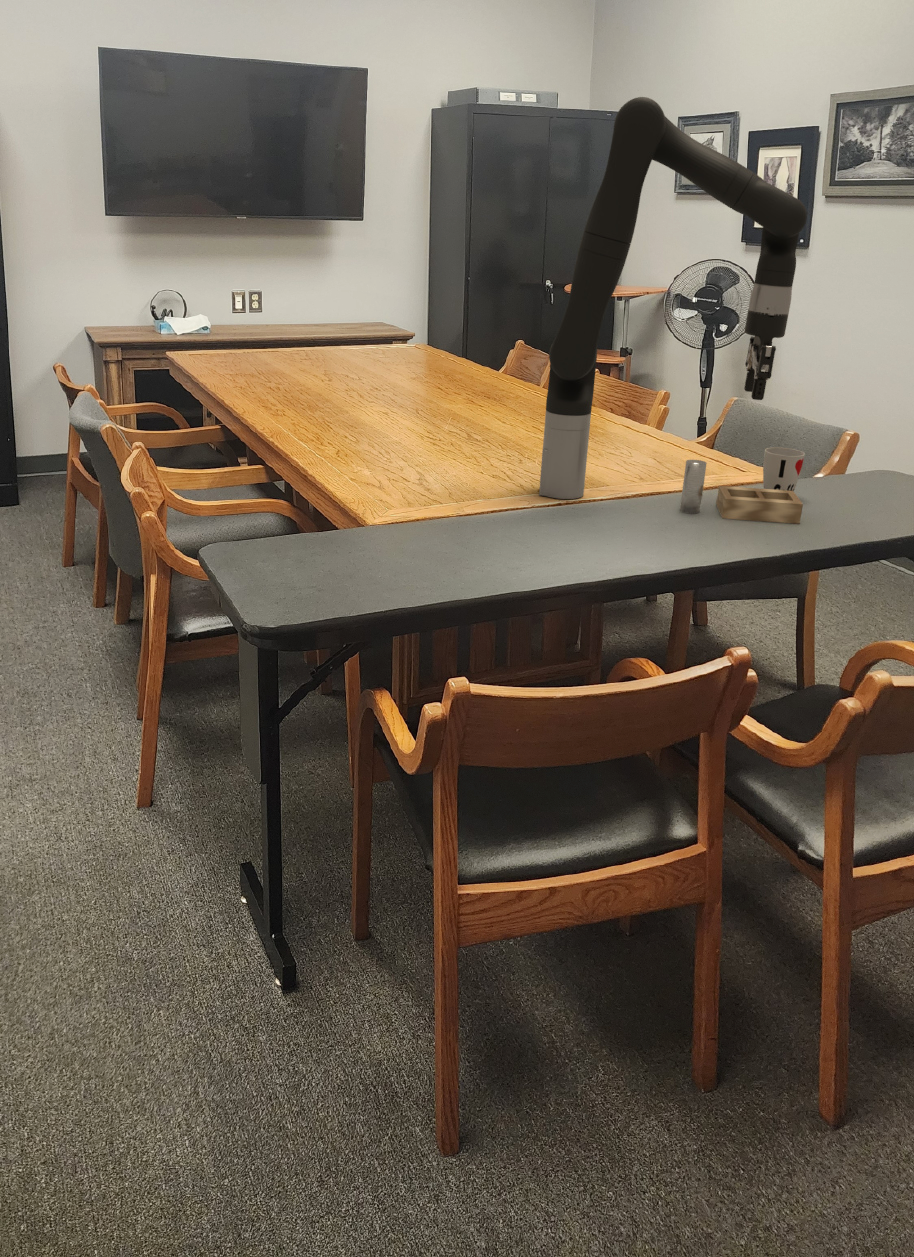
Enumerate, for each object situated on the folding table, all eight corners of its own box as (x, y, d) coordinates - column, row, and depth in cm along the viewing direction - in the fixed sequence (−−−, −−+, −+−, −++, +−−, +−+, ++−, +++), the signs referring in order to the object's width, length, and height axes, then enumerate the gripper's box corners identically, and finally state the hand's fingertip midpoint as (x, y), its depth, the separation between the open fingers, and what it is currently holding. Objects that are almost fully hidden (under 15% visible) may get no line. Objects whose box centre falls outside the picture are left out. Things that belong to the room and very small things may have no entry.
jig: (722, 518, 210) (725, 498, 208) (716, 504, 219) (718, 485, 217) (799, 523, 208) (803, 504, 207) (789, 509, 218) (793, 490, 216)
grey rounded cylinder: (680, 512, 212) (687, 463, 208) (678, 507, 216) (685, 459, 212) (700, 514, 212) (707, 465, 208) (698, 508, 215) (705, 460, 212)
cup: (770, 503, 221) (778, 456, 218) (750, 493, 229) (757, 447, 225) (804, 502, 223) (812, 455, 220) (783, 492, 231) (791, 446, 227)
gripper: (742, 304, 208) (728, 387, 214) (755, 312, 195) (739, 400, 201) (781, 307, 207) (766, 390, 214) (796, 315, 194) (779, 403, 201)
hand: (753, 395), depth 207 cm, fingers open, 8 cm apart
